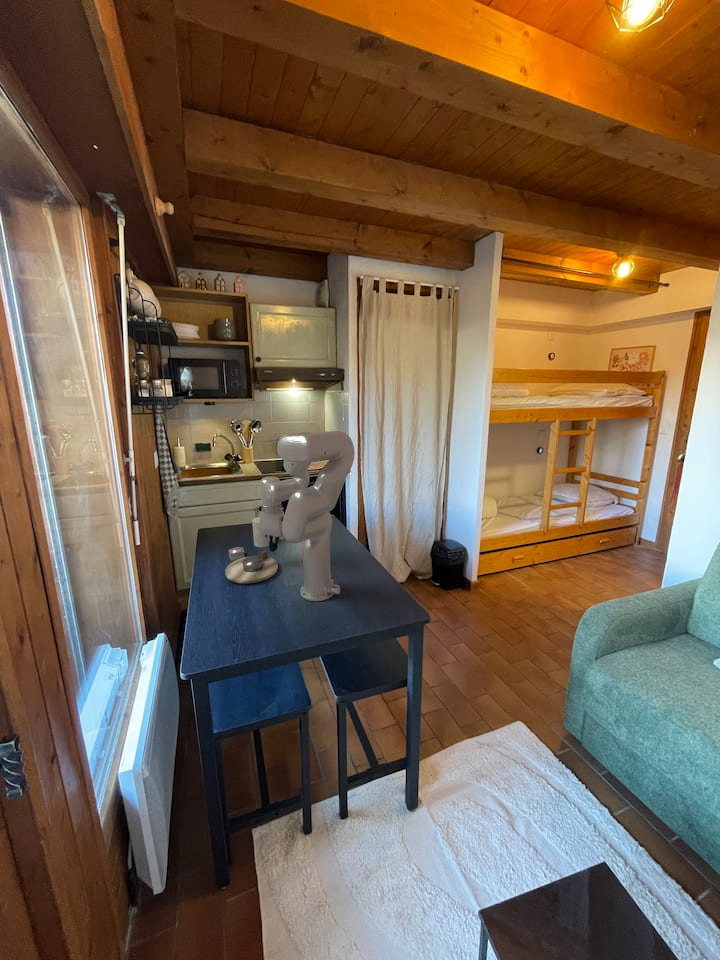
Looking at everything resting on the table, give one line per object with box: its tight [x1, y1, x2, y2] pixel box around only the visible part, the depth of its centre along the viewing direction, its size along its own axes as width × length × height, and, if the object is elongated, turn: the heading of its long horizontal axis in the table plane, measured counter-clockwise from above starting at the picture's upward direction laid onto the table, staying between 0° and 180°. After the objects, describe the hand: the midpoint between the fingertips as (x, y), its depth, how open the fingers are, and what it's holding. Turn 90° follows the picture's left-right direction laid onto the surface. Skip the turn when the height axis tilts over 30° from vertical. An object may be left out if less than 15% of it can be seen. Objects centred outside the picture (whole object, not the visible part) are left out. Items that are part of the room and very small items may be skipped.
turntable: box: [224, 549, 279, 584], centre depth 150 cm, size 20×20×4 cm
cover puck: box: [242, 555, 264, 572], centre depth 149 cm, size 8×8×3 cm
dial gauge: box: [228, 546, 246, 562], centre depth 164 cm, size 6×5×4 cm
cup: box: [251, 516, 269, 548], centre depth 176 cm, size 8×8×12 cm
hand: (273, 550), depth 154 cm, fingers closed
